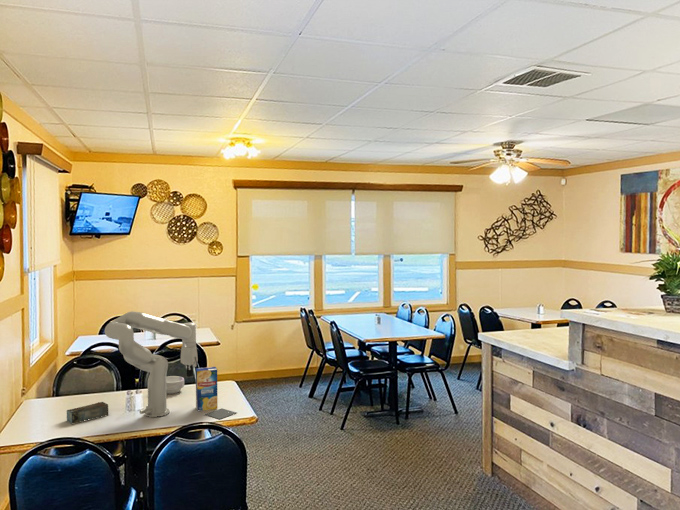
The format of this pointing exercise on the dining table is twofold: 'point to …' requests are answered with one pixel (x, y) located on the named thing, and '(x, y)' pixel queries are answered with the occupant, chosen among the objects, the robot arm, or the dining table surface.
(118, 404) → the dining table surface
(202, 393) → the blue rectangular box
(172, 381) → the paper bowls
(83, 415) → the dark grey rectangular block
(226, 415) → the rubber mat
